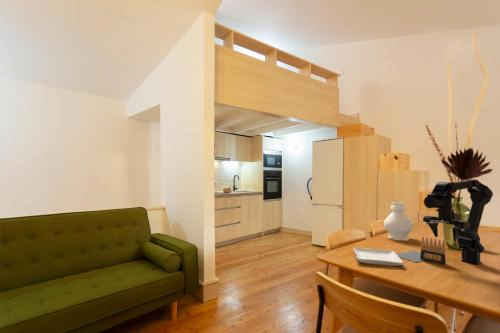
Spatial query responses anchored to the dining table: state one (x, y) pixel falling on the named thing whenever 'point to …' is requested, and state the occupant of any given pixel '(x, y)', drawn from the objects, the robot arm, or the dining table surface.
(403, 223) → the decorative vase
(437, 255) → the ammunition clip
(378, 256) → the salad plate
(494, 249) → the dining table surface
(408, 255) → the mat
